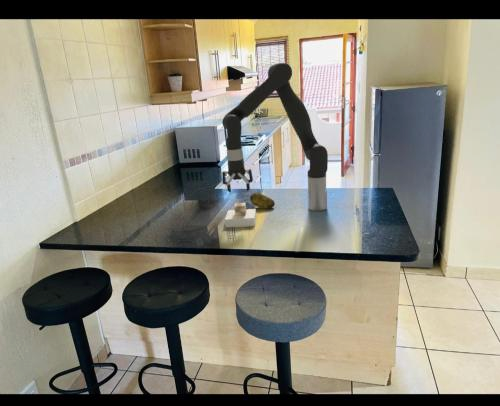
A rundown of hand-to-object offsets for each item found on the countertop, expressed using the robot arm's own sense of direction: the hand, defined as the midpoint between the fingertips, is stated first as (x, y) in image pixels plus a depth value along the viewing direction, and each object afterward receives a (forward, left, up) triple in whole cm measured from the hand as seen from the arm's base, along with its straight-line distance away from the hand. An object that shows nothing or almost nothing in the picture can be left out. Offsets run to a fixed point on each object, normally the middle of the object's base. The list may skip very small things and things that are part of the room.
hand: (238, 191), depth 180 cm
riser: (0, 0, -16) cm, 16 cm away
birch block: (0, 0, -12) cm, 12 cm away
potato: (-10, -19, -16) cm, 27 cm away
